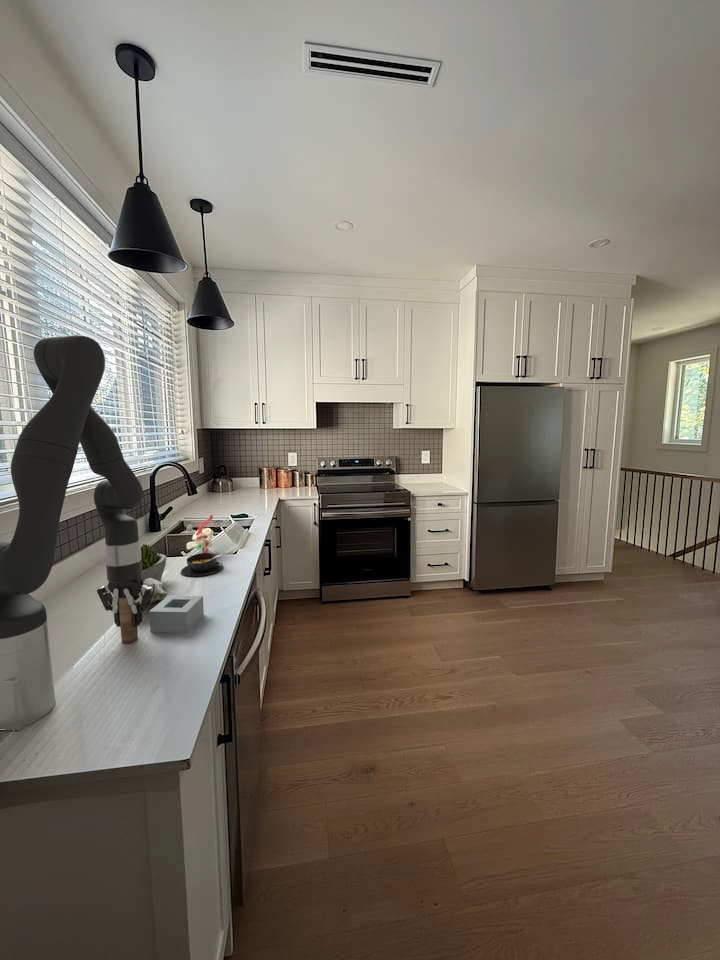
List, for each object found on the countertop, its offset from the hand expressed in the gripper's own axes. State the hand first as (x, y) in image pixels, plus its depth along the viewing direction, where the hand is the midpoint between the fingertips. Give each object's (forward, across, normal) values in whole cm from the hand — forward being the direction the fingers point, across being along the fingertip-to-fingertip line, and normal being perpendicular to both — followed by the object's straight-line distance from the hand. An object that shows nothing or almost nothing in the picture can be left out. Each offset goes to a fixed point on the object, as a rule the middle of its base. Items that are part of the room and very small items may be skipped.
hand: (128, 625), depth 99 cm
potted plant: (+4, -16, +35) cm, 39 cm away
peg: (+4, 0, 0) cm, 4 cm away
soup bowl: (+5, -3, +50) cm, 50 cm away
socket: (+4, +8, +9) cm, 13 cm away
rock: (+4, -7, +20) cm, 22 cm away
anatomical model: (+4, -10, +66) cm, 67 cm away
